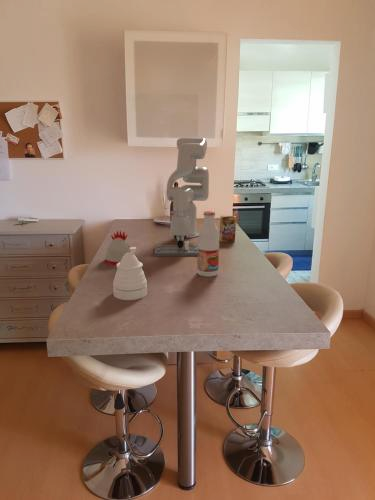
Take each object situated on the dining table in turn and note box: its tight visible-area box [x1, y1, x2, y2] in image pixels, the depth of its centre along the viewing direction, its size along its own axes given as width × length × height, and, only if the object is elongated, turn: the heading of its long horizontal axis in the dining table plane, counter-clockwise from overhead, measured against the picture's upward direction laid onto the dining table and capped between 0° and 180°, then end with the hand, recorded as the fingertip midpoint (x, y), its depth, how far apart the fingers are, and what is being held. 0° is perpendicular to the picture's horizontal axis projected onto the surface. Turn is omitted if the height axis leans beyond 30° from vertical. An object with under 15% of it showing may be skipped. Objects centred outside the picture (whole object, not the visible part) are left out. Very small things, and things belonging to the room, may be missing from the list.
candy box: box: [218, 215, 237, 243], centre depth 229 cm, size 9×4×15 cm, turn 98°
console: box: [154, 243, 198, 257], centre depth 207 cm, size 16×24×2 cm, turn 94°
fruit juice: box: [196, 210, 220, 278], centre depth 170 cm, size 9×9×28 cm
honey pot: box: [112, 246, 148, 301], centre depth 147 cm, size 13×13×18 cm
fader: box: [183, 239, 190, 250], centre depth 204 cm, size 3×2×5 cm
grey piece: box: [104, 230, 132, 266], centre depth 189 cm, size 14×14×15 cm
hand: (180, 247), depth 205 cm, fingers closed
